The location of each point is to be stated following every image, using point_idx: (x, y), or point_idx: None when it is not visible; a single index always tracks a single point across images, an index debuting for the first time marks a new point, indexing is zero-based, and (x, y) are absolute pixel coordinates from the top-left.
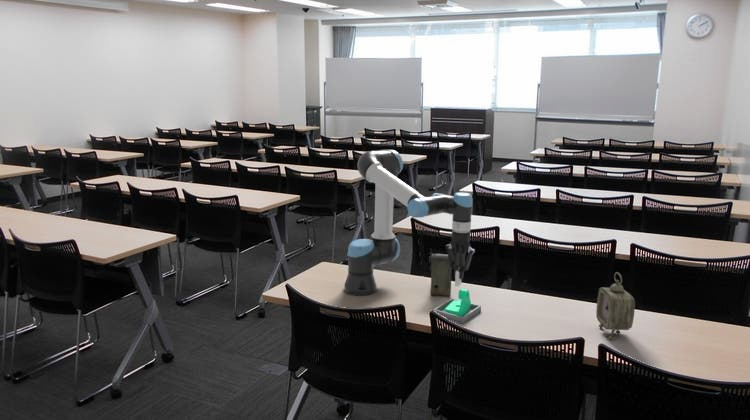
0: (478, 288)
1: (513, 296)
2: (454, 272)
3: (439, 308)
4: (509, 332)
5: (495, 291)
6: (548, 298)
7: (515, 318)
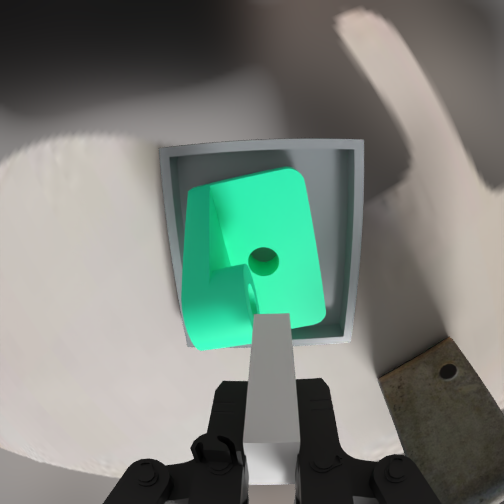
0: None
1: None
2: (325, 424)
3: (351, 197)
4: (13, 212)
5: None
6: None
7: (71, 337)
